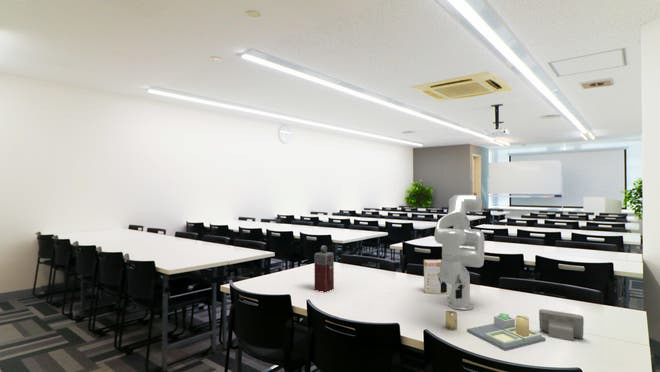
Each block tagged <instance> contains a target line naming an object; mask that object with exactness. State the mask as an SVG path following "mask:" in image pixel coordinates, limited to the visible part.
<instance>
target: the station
mask: <svg viewBox="0 0 660 372" xmlns="http://www.w3.org/2000/svg"><path fill="white" fill-rule="evenodd" d="M466 332H467V333H469V334H471V335H473V336H475V337H477V338H479V339H481V340H483V341H485V342H487V343H488V344H491V345H493V346H495V347H497V346H498V347H497V348H499V349H501V350H503V349H504V350H503V351H505V350H506V351H509V350H514V349H517V348H522V347H526V346H530V345H533V344H538V343H541V342H545V341H546V337H545V336H542V334H541V333H539V332H536V331H534V330H532V329H530V318H529V317H528V316H525V315H515V318H513V317H511V316H509V319H508V320H503V319H501V318H499V315H494V316H493V323H489V324H486V325H485V324H484V325H481V326H475V327H471V328H467V329H466Z"/></svg>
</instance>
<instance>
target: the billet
mask: <svg viewBox="0 0 660 372" xmlns="http://www.w3.org/2000/svg"><path fill="white" fill-rule="evenodd" d="M445 328H446V329H447V330H449V331H457V330H458V312H456V311H455V310H454V311H453V310H446V311H445Z"/></svg>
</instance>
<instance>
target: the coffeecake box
mask: <svg viewBox="0 0 660 372" xmlns="http://www.w3.org/2000/svg"><path fill="white" fill-rule="evenodd" d="M441 260H442V259H423V286H424V287H423V290H424V293H425V294H427V295H429V294H432V295H433V294H434V295H435V294H437V295H439V294H440V295H450V294H451V284H448V283H445V284H447V292H446V293H441V284H440V281H439V279H438V278H439V277H438V275H437V273H439V272H440V263H441Z"/></svg>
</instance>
